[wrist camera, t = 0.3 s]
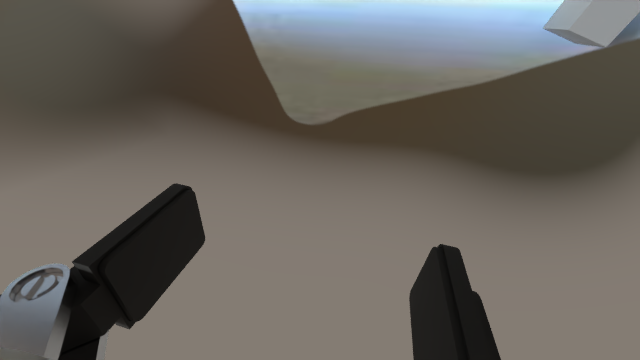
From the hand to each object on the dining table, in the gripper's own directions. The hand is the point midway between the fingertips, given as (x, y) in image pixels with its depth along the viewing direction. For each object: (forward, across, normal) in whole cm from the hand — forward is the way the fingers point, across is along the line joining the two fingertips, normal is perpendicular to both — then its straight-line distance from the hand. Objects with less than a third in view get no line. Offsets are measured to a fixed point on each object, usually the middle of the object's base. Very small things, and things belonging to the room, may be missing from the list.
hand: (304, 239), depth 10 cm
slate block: (+31, -21, -10) cm, 39 cm away
